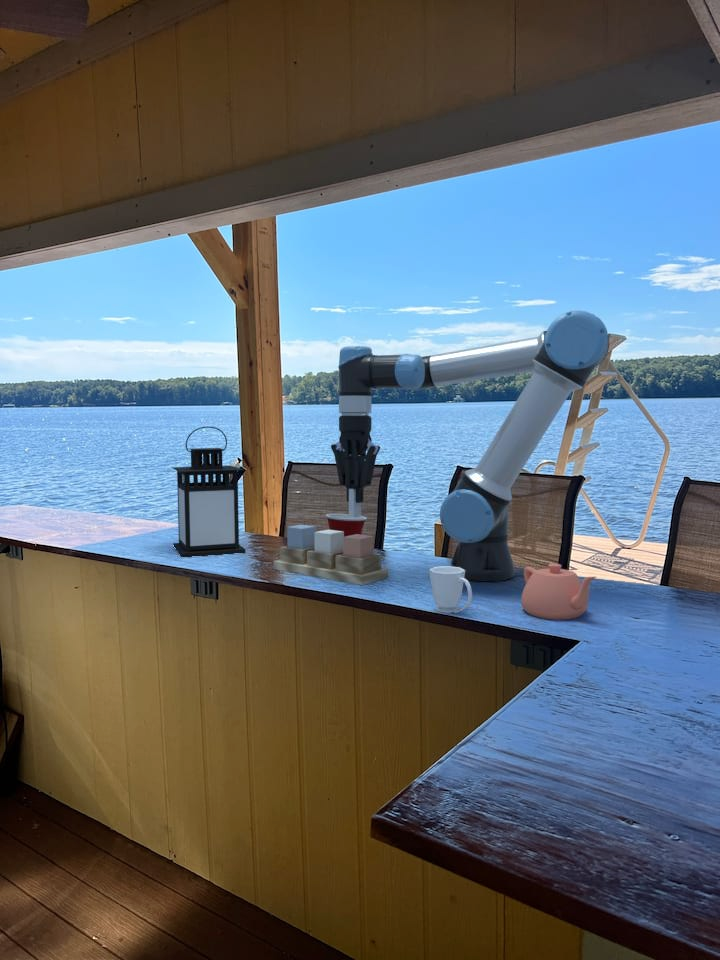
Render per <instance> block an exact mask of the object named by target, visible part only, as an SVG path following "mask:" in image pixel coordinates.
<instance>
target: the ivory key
mask: <svg viewBox="0 0 720 960" xmlns="http://www.w3.org/2000/svg"><path fill="white" fill-rule="evenodd" d="M343 537H344V531H336V530H330V529H324V530H319V531H316V532H314V538H315V552H321V553H327V554H333V553H337V552H342V551H343Z"/></svg>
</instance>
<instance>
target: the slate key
mask: <svg viewBox="0 0 720 960" xmlns="http://www.w3.org/2000/svg"><path fill="white" fill-rule="evenodd" d="M286 529H287V530H286V531H287V534H286V535H287V536H286V537H287V539H286V541H287V546H288V548H294V549H301V550H304V549H308V548H313V547H315V538H314V532H317V526H315V525H306V524H297V525H291V526H287V527H286Z"/></svg>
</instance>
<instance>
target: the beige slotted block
mask: <svg viewBox="0 0 720 960" xmlns="http://www.w3.org/2000/svg"><path fill="white" fill-rule="evenodd" d="M373 554H374V555H373V556H369V557H365V558H361V559H360V558H353V557H347V556H343V551H342V552H337V553H333V554H327V553H321V552H315V547H313V548H308V549H304V550H301V549H294V548H288V545H285V546H280V547H279V555H280V557H279V559H277V560H273V564H272V565H273V570H276V571H282V572H287V573H292V574H299V575H303V576H310V577H314V578H321V579H325V580H331V581H336V582H343V583H348V584H352V585H353V584H354V585H359V586H364V585H367V584H371V583H373V582H377V581H381V580H384V579H387V578H389V568H384V567H382V554H379V553H374V552H373Z"/></svg>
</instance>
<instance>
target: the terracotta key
mask: <svg viewBox="0 0 720 960" xmlns="http://www.w3.org/2000/svg"><path fill="white" fill-rule="evenodd" d="M373 553H374V535H367V534H366V535H365V534H361V535H360V534H355V535H350V536H345V537H343V556H347V557H353V558H360V559H361V558H365V557H369V556H373V555H374V554H375V553H374V554H373Z"/></svg>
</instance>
